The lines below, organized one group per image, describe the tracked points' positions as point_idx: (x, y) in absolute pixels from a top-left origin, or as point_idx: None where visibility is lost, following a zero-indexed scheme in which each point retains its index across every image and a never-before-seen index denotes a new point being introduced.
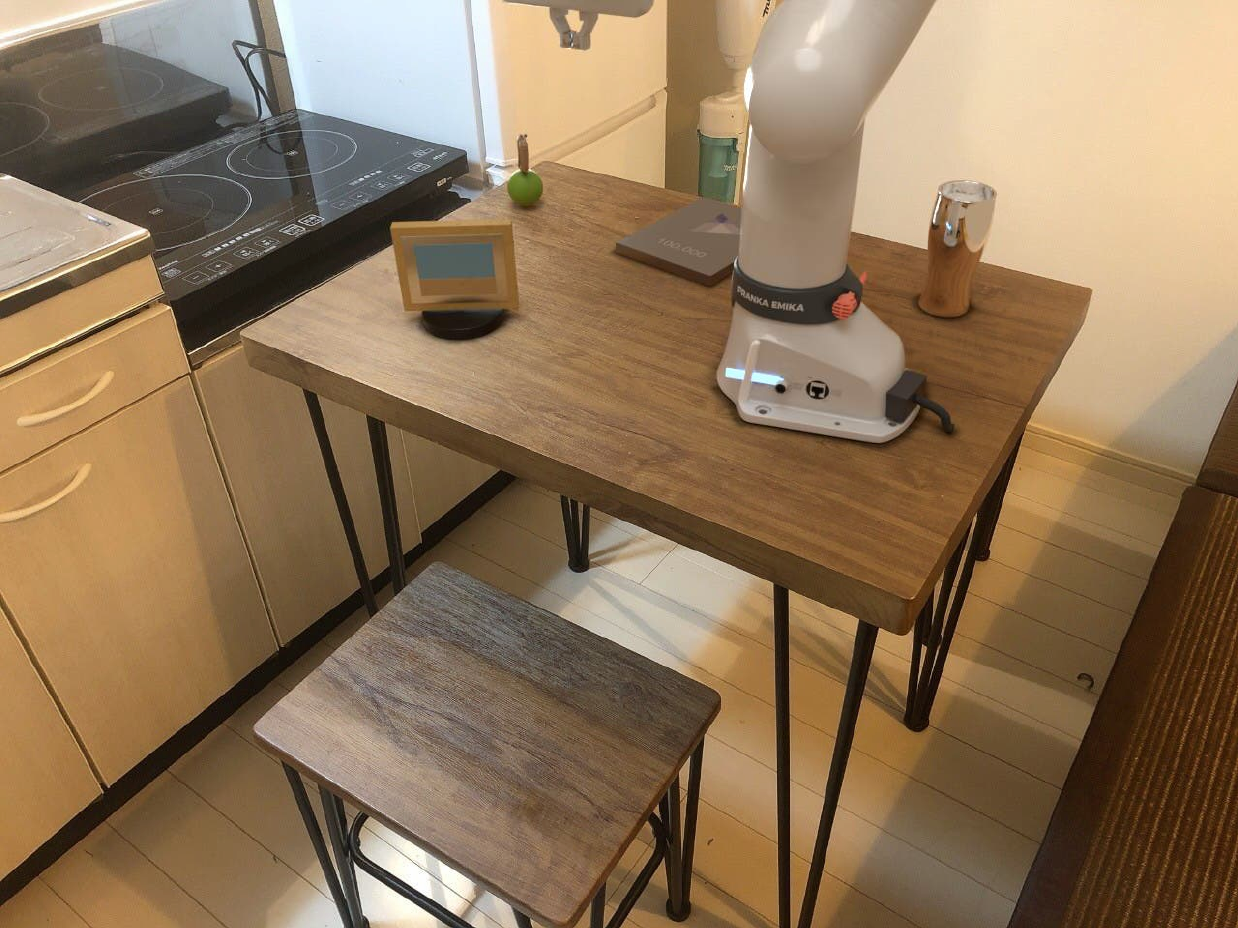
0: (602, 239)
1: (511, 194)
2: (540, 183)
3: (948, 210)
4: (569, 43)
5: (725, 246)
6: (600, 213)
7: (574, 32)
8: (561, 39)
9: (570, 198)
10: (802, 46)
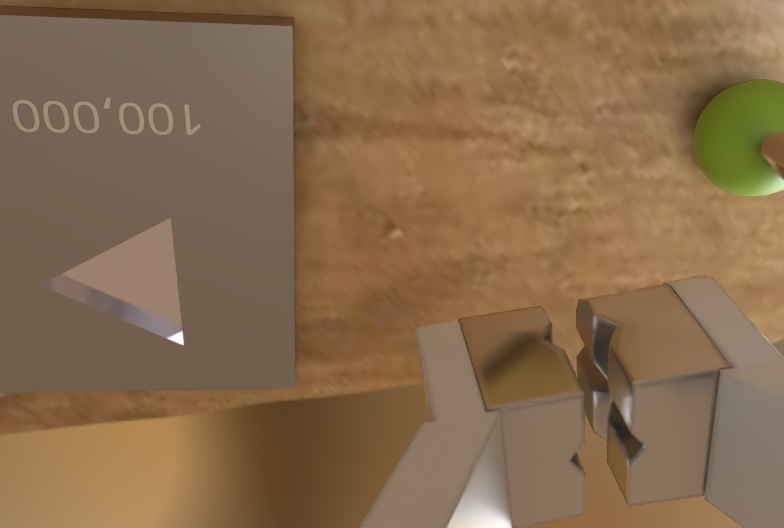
0: (389, 68)
1: (775, 81)
2: (710, 165)
3: None
4: (603, 324)
5: (19, 199)
6: (500, 197)
7: (630, 473)
8: (717, 320)
9: (630, 221)
10: None
